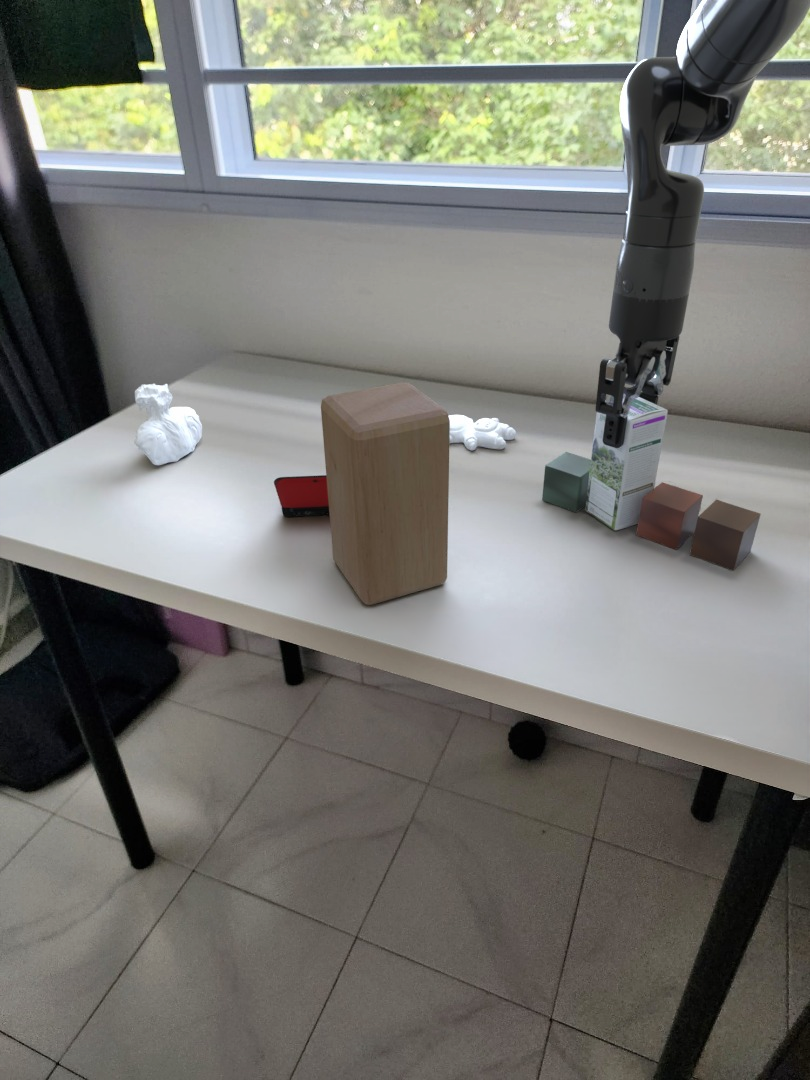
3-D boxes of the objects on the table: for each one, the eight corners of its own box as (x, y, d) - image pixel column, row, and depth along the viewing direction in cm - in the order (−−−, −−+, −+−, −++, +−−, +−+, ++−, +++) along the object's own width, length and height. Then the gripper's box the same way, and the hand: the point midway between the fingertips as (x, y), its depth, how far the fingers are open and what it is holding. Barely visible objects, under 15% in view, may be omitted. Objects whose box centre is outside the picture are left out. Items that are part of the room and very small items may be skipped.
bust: (198, 450, 115) (151, 388, 112) (225, 428, 110) (177, 363, 108) (144, 484, 106) (92, 417, 103) (171, 462, 101) (117, 392, 99)
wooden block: (330, 561, 84) (316, 393, 74) (410, 540, 88) (408, 377, 77) (364, 611, 77) (353, 431, 66) (450, 585, 80) (454, 411, 69)
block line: (750, 551, 85) (761, 513, 82) (733, 570, 82) (743, 532, 79) (562, 485, 98) (566, 451, 96) (541, 500, 95) (544, 465, 93)
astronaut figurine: (495, 457, 106) (496, 438, 104) (423, 439, 111) (423, 420, 110) (522, 435, 112) (523, 416, 110) (452, 418, 118) (452, 400, 116)
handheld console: (382, 486, 99) (380, 434, 95) (383, 529, 90) (381, 474, 86) (288, 489, 99) (282, 437, 95) (279, 532, 90) (272, 477, 86)
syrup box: (650, 520, 91) (671, 407, 83) (613, 532, 88) (631, 418, 81) (618, 500, 95) (635, 391, 87) (581, 511, 93) (596, 401, 85)
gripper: (654, 308, 70) (628, 466, 79) (715, 278, 79) (686, 423, 88) (583, 295, 75) (567, 446, 84) (649, 269, 84) (627, 408, 93)
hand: (628, 434), depth 86 cm, fingers closed on syrup box, 7 cm apart
